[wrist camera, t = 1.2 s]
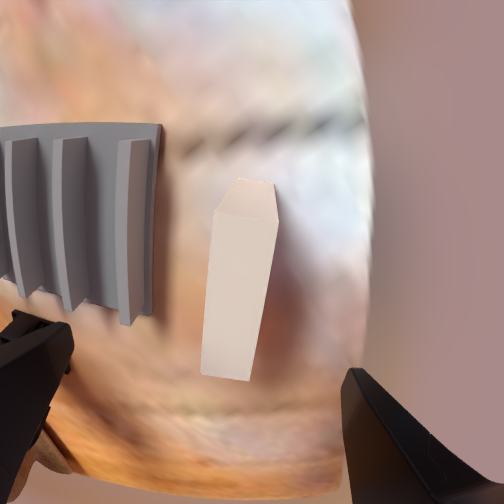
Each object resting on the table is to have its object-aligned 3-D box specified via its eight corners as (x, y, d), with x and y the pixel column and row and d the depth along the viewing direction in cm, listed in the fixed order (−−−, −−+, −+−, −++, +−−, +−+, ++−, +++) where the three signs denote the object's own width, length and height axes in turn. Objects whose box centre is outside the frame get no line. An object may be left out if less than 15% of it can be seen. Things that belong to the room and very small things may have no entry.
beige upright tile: (255, 293, 23) (249, 381, 15) (222, 288, 23) (200, 373, 15) (273, 183, 20) (279, 222, 12) (236, 177, 20) (214, 212, 12)
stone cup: (-12, 387, 32) (-58, 448, 18) (38, 405, 31) (-10, 484, 17) (29, 445, 38) (-3, 502, 24) (78, 464, 37) (49, 531, 23)
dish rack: (152, 310, 24) (136, 339, 20) (8, 275, 24) (-16, 293, 20) (161, 124, 19) (139, 123, 15) (-2, 127, 19) (-33, 132, 15)
